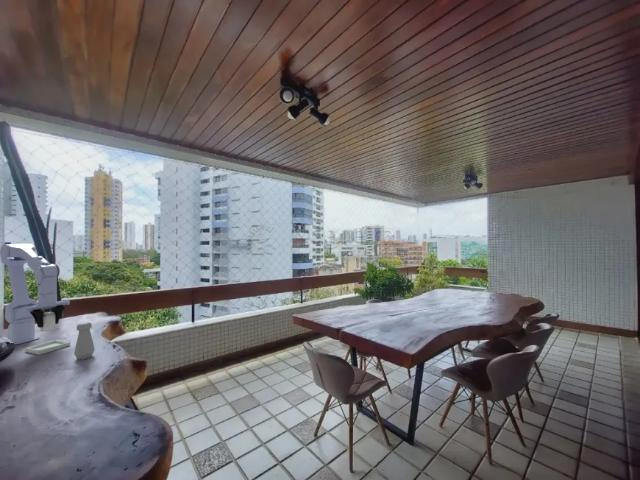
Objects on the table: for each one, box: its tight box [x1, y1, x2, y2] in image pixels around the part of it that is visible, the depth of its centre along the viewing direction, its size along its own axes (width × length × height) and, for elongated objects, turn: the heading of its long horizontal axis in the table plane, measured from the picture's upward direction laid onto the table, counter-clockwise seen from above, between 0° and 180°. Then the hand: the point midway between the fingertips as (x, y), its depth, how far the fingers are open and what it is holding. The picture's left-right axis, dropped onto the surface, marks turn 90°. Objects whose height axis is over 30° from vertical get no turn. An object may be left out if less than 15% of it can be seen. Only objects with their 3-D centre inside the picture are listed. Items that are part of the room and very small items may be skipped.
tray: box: [24, 339, 71, 356], centre depth 114 cm, size 10×10×2 cm
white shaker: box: [40, 311, 57, 332], centre depth 117 cm, size 4×4×7 cm
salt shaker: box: [73, 321, 95, 361], centre depth 103 cm, size 6×6×13 cm
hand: (48, 325), depth 117 cm, fingers closed on white shaker, 4 cm apart
